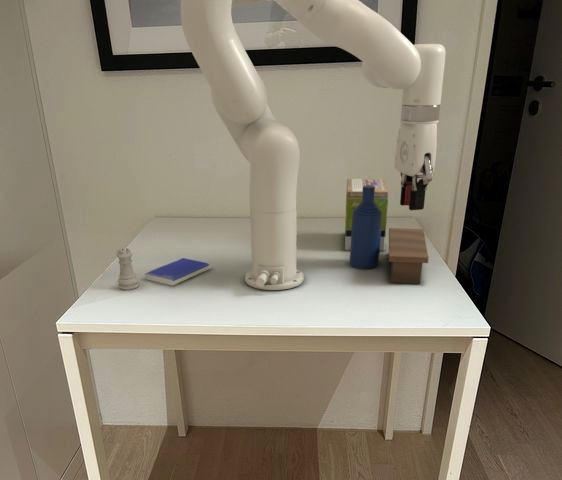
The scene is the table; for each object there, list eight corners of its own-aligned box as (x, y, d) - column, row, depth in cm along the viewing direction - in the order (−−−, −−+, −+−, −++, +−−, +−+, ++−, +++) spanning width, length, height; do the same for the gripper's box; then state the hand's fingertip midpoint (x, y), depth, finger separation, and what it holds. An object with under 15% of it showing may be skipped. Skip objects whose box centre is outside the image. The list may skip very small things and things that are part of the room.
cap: (422, 202, 126) (424, 185, 124) (421, 206, 123) (423, 189, 121) (405, 201, 127) (406, 184, 125) (403, 205, 124) (405, 188, 122)
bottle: (378, 269, 132) (384, 190, 123) (348, 268, 133) (352, 189, 124) (378, 260, 137) (384, 183, 129) (350, 259, 138) (354, 183, 130)
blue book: (173, 279, 123) (209, 263, 132) (144, 272, 126) (182, 257, 136) (173, 286, 123) (210, 269, 132) (145, 279, 127) (182, 263, 136)
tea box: (344, 234, 157) (346, 177, 150) (381, 234, 156) (386, 177, 149) (344, 251, 144) (346, 189, 136) (385, 251, 143) (390, 190, 136)
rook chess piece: (144, 285, 124) (139, 249, 120) (128, 292, 121) (122, 254, 117) (129, 281, 126) (124, 245, 122) (113, 288, 123) (107, 251, 119)
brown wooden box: (425, 286, 122) (428, 257, 119) (386, 284, 123) (388, 256, 120) (420, 254, 141) (423, 229, 138) (387, 253, 142) (389, 227, 139)
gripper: (386, 111, 123) (380, 200, 132) (421, 119, 109) (412, 218, 118) (419, 110, 124) (411, 197, 133) (457, 117, 110) (445, 215, 119)
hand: (411, 206), depth 125 cm, fingers closed on cap, 3 cm apart
